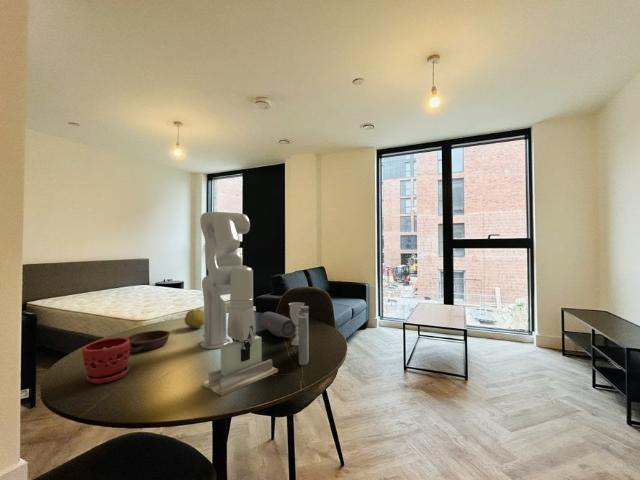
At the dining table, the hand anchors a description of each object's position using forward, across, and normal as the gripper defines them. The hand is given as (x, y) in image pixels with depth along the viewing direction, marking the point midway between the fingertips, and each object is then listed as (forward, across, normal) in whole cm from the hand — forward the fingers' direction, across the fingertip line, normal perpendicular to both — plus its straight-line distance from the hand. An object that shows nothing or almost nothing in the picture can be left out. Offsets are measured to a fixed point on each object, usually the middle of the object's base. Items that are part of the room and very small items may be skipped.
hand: (242, 358), depth 101 cm
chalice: (+7, -11, +37) cm, 39 cm away
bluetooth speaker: (+7, -29, +41) cm, 51 cm away
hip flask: (+7, +3, +27) cm, 28 cm away
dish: (+7, -61, -7) cm, 62 cm away
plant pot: (+7, -36, -29) cm, 47 cm away
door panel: (+3, 0, 0) cm, 3 cm away
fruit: (+6, -73, +21) cm, 76 cm away
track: (+7, 0, 0) cm, 7 cm away
